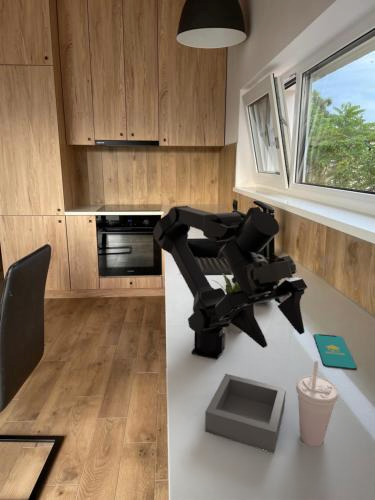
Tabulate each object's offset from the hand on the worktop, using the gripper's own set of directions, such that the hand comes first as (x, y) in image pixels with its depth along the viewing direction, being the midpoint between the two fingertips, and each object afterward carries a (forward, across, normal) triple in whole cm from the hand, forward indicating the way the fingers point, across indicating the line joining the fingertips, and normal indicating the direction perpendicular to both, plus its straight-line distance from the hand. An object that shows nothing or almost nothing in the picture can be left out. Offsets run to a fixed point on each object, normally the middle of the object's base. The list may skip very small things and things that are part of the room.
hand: (284, 339), depth 61 cm
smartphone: (+4, +26, +16) cm, 31 cm away
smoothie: (+16, -1, +5) cm, 16 cm away
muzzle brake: (-24, +38, +43) cm, 63 cm away
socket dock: (+9, -7, +11) cm, 16 cm away
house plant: (-11, +14, +30) cm, 34 cm away
